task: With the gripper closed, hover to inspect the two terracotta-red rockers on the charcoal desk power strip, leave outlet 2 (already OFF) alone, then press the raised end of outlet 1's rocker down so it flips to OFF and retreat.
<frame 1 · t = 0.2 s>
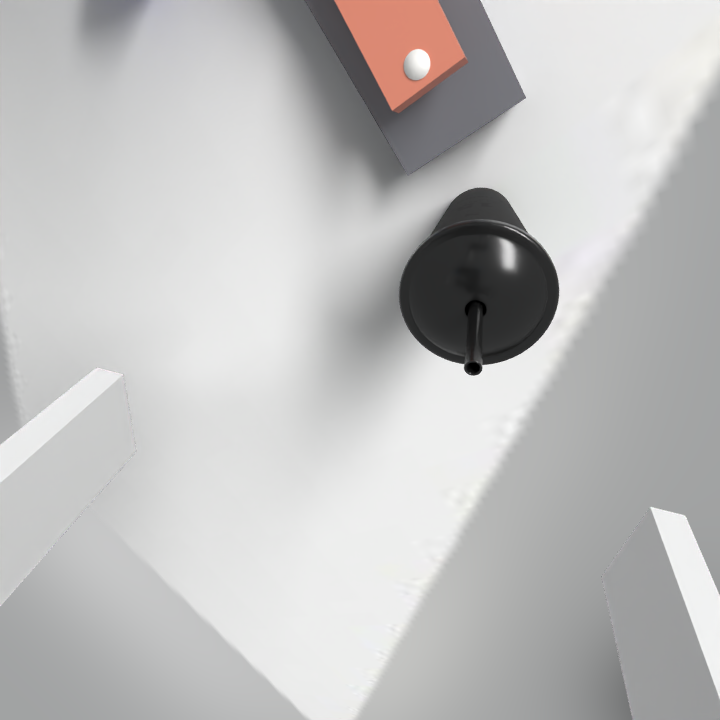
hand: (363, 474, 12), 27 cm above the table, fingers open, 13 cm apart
drinking cup: (479, 221, 35), on the table
rocker 2: (388, 6, 25), point 5 cm above the table, hinge at -12.0°
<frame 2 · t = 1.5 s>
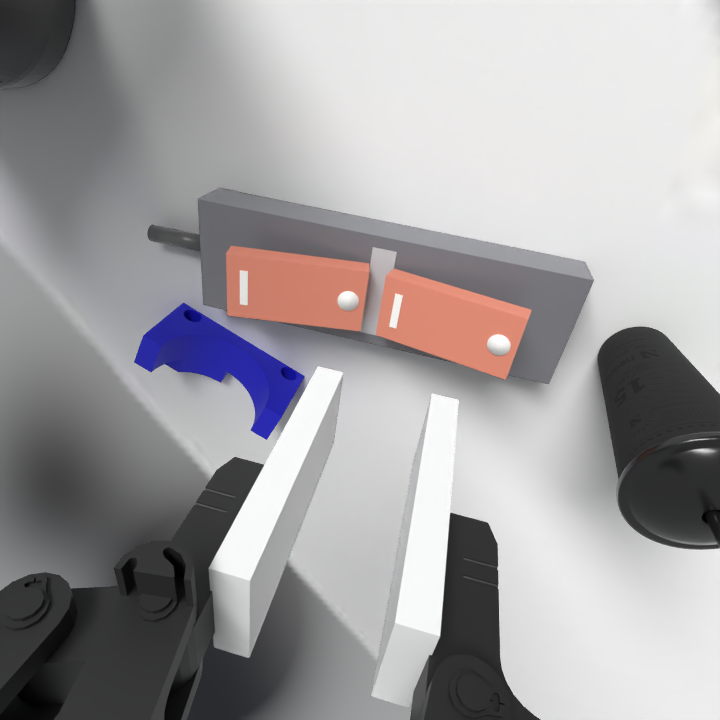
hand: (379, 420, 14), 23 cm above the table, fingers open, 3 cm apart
drinking cup: (633, 354, 35), on the table
power strip: (385, 276, 36), on the table
rocker 2: (448, 323, 31), point 5 cm above the table, hinge at -12.0°
rocker 1: (297, 289, 32), point 5 cm above the table, hinge at 12.0°
cable clip: (237, 355, 44), on the table
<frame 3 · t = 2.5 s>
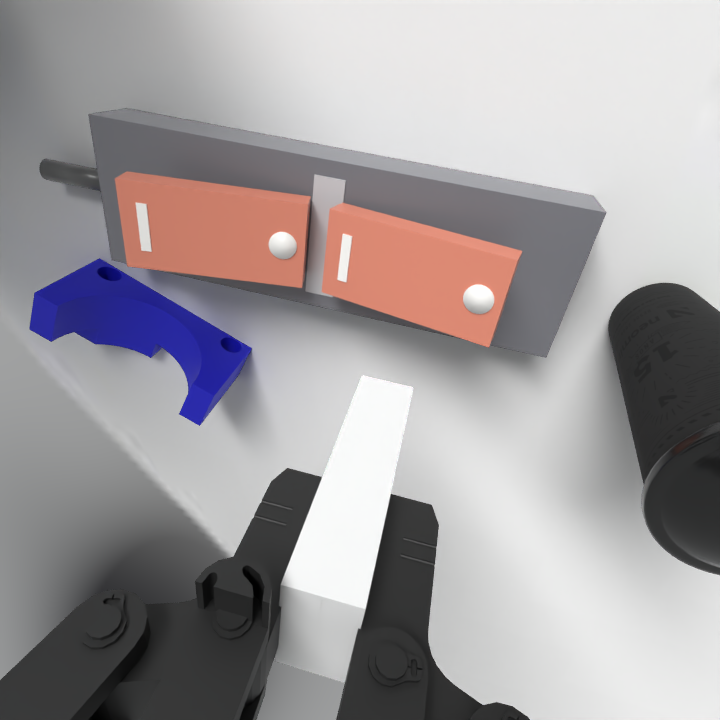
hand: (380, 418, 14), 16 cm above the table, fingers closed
drinking cup: (654, 320, 28), on the table
power strip: (339, 222, 28), on the table
rocker 2: (413, 273, 24), point 5 cm above the table, hinge at -12.0°
rocker 1: (217, 232, 25), point 5 cm above the table, hinge at 12.0°
cable clip: (171, 324, 36), on the table
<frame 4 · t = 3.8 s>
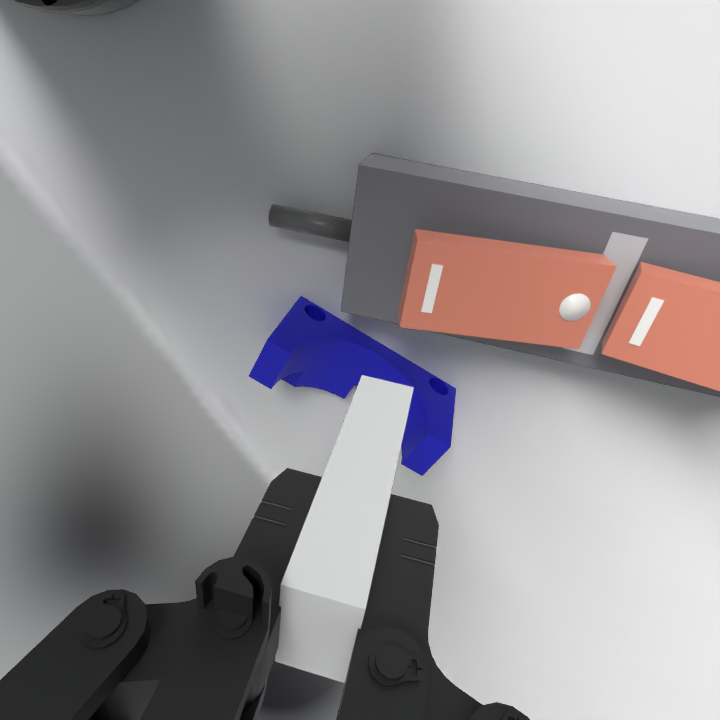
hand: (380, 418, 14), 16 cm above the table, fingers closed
power strip: (590, 273, 27), on the table
rocker 1: (500, 291, 23), point 5 cm above the table, hinge at 12.0°
cable clip: (364, 363, 34), on the table
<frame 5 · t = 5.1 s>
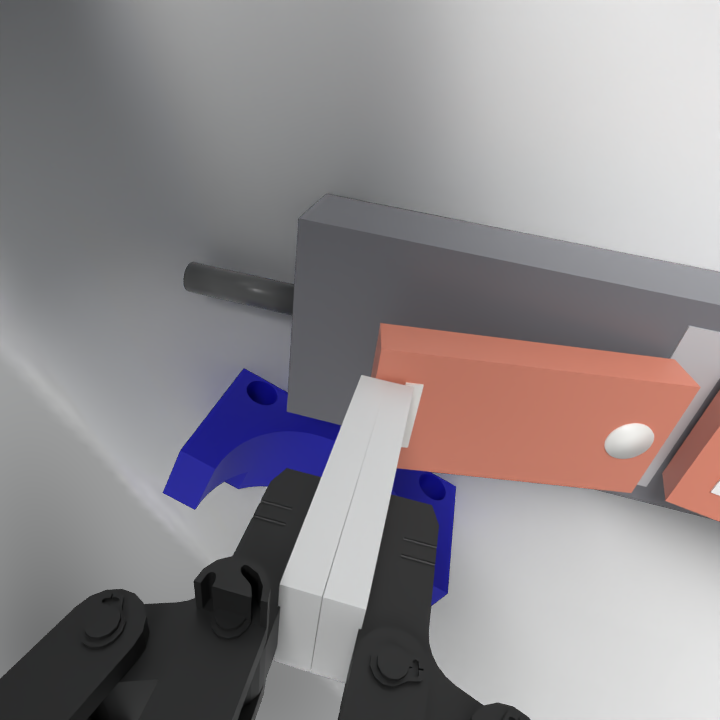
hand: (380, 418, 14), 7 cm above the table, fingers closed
power strip: (640, 362, 19), on the table
rocker 1: (513, 413, 15), point 5 cm above the table, hinge at 11.7°, touching gripper
cable clip: (334, 450, 25), on the table
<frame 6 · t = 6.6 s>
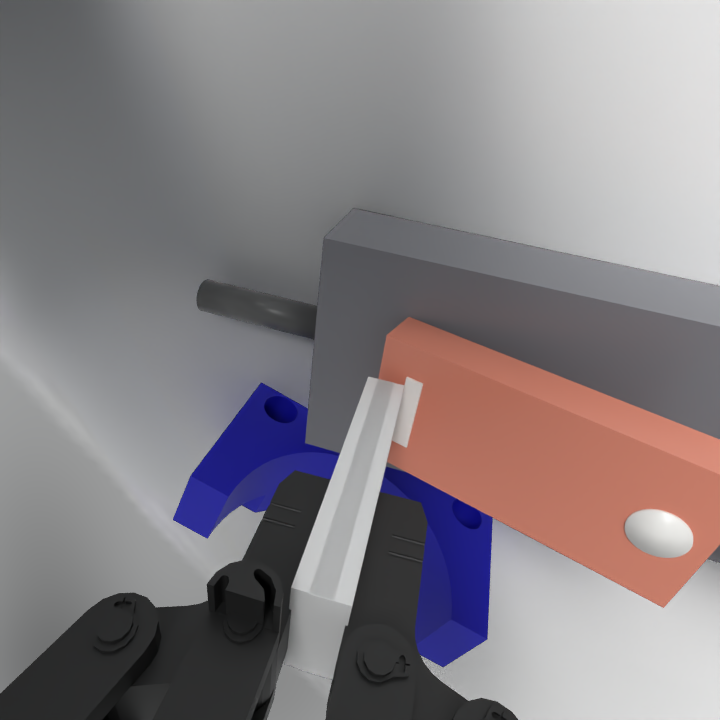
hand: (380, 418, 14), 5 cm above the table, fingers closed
power strip: (700, 400, 17), on the table
rocker 1: (527, 452, 13), point 5 cm above the table, hinge at -16.3°, touching gripper, power strip
cable clip: (359, 470, 23), on the table
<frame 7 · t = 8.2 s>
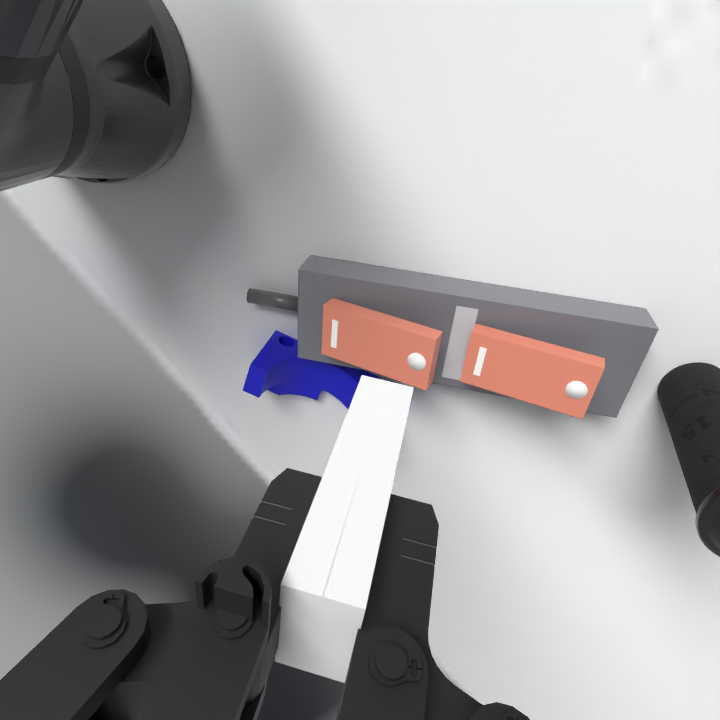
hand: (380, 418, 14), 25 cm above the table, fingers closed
drinking cup: (691, 386, 39), on the table
power strip: (460, 325, 40), on the table
rocker 2: (528, 370, 35), point 5 cm above the table, hinge at -12.0°
rocker 1: (378, 343, 37), point 5 cm above the table, hinge at -14.8°
cable clip: (329, 373, 46), on the table
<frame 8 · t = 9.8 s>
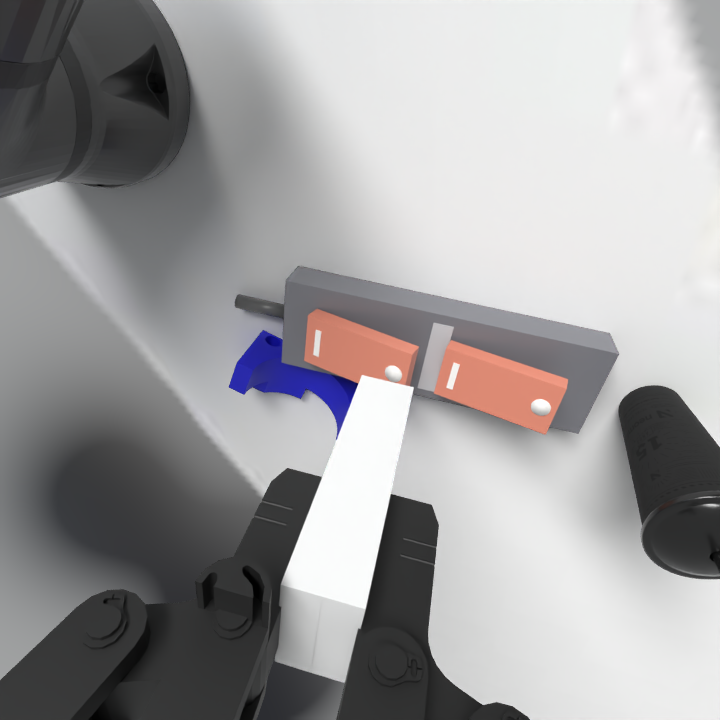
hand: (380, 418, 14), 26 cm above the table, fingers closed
drinking cup: (649, 406, 42), on the table
power strip: (438, 339, 42), on the table
rocker 2: (497, 386, 38), point 5 cm above the table, hinge at -12.0°
rocker 1: (358, 354, 39), point 5 cm above the table, hinge at -14.7°
cable clip: (313, 373, 48), on the table
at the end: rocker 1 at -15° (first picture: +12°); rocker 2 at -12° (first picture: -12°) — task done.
